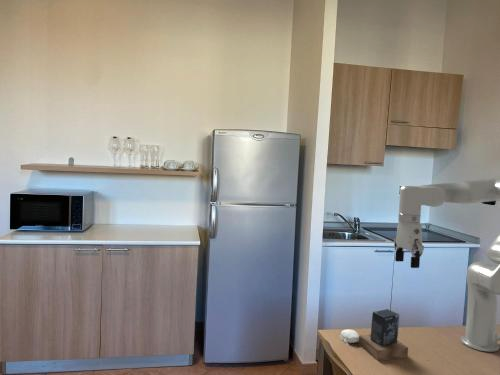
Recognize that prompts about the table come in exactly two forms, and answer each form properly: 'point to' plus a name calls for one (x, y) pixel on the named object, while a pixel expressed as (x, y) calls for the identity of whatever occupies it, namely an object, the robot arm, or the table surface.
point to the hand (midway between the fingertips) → (406, 264)
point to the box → (384, 327)
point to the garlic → (349, 336)
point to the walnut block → (383, 349)
